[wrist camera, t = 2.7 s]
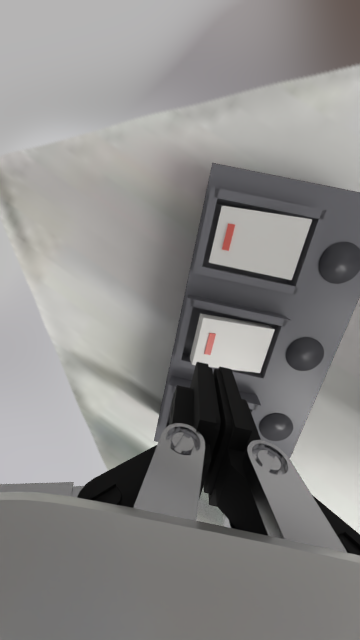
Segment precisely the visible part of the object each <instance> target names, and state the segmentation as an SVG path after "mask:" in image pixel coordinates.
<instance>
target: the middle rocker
mask: <svg viewBox="0 0 360 640" xmlns="http://www.w3.org/2000/svg"><path fill="white" fill-rule="evenodd" d="M274 330H275V329H273V328H272V327H270V326H269V325H267V324H261V323H255V322H249V321H243V320H237V319H231V318H225V317H219V316H213V315H207V314H201V313H200V316H199V320H198V325H197V329H196V333H195V337H194V342H193V346H192V350H191V354H190V360H191V363H192V365H196V362H201V363H206V364H208V366H209V367H214V368H219V367H224V368H229V369H232V370H239V371H247V372H255V373H260V372H261V369H262V366H263V363H264V360H265V357H266V354H267V351H268V348H269V345H270V342H271V339H272V336H273V333H274Z"/></svg>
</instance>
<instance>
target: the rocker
mask: <svg viewBox="0 0 360 640" xmlns="http://www.w3.org/2000/svg"><path fill="white" fill-rule="evenodd" d="M311 222H312V219H307V218H300V217H294V216H287V215H281V214H274V213H267V212H261V211H254V210H248V209H241V208H235V207H228V206H222V207H221V212H220V216H219V220H218V224H217V229H216V233H215V237H214V242H213V246H212V250H211V255H210V259H209V263H213V264H218V265H223V266H227V267H232V268H237V269H241V270H246V271H251V272H255V273H260V274H265V275H270V276H274V277H279V278H284V279H288V280H292V278H293V275H294V272H295V269H296V266H297V263H298V260H299V257H300V254H301V251H302V248H303V245H304V242H305V239H306V237H307V234H308V231H309V228H310V225H311Z"/></svg>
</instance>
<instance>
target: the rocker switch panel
mask: <svg viewBox="0 0 360 640" xmlns="http://www.w3.org/2000/svg"><path fill="white" fill-rule="evenodd" d="M222 206H228V207H235V208H241V209H248V210H254V211H261V212H267V213H274V214H281V215H287V216H294V217H300V218H307V219H312V222H311V225H310V228H309V231H308V234H307V237H306V239H305V242H304V245H303V248H302V251H301V254H300V257H299V260H298V263H297V266H296V269H295V272H294V275H293V278H292V280H288V279H284V278H279V277H274V276H270V275H265V274H260V273H255V272H251V271H246V270H241V269H237V268H232V267H227V266H223V265H218V264H213V263H209V259H210V255H211V250H212V246H213V242H214V237H215V233H216V229H217V224H218V220H219V216H220V212H221V207H222ZM359 298H360V192H355V191H350V190H345V189H340V188H335V187H330V186H325V185H320V184H315V183H310V182H305V181H300V180H295V179H290V178H285V177H280V176H275V175H270V174H265V173H260V172H255V171H250V170H245V169H240V168H235V167H231V166H226V165H221V164H216V163H212V168H211V172H210V177H209V182H208V187H207V191H206V196H205V201H204V206H203V210H202V215H201V220H200V225H199V229H198V234H197V239H196V244H195V248H194V253H193V258H192V263H191V267H190V272H189V277H188V282H187V286H186V291H185V296H184V301H183V305H182V310H181V315H180V320H179V324H178V329H177V334H176V339H175V343H174V348H173V353H172V358H171V362H170V367H169V372H168V377H167V381H166V386H165V391H164V395H163V400H162V405H161V410H160V414H159V419H158V424H157V429H156V433H155V438H154V441H157V442H159V440H160V437H161V434H162V432H163V431H164V429H165V428H166V427H167V426H169V419H170V413H171V408H172V403H173V398H174V394H175V390H176V386H177V385H179V386H184V387H188V388H190V386H191V382H192V378H193V374H194V370H195V366H196V365H192V363H191V360H190V354H191V350H192V346H193V342H194V337H195V333H196V329H197V325H198V320H199V316H200V313H201V314H207V315H213V316H219V317H225V318H231V319H237V320H243V321H249V322H255V323H261V324H267V325H269V326H270V327H272V328H273V329H275V330H274V333H273V336H272V339H271V342H270V345H269V348H268V351H267V354H266V357H265V360H264V363H263V366H262V369H261V372H260V373H255V372H247V371H239V370H232V372H233V375H234V378H235V381H236V384H237V387H238V390H239V393H240V396H241V399H245V400H246V401H247V403H248V406H249V408H250V411H251V414H252V417H253V419H254V422H255V425H256V428H257V430H258V433H259V436H260V438H261V440H263V441H267V442H269V443H272V444H274V445H275V446H277V447H278V448H280V449H281V450H282V451H283V452H284V453H285V454H286V455H287V456H288V458H289V459H290V457H291V454H292V452H293V450H294V447H295V445H296V443H297V441H298V438H299V436H300V434H301V431H302V429H303V427H304V424H305V422H306V420H307V417H308V415H309V413H310V411H311V408H312V406H313V404H314V401H315V399H316V397H317V394H318V392H319V390H320V388H321V385H322V383H323V381H324V378H325V376H326V374H327V371H328V369H329V367H330V364H331V362H332V360H333V358H334V355H335V353H336V351H337V348H338V346H339V344H340V341H341V339H342V337H343V334H344V332H345V330H346V328H347V325H348V323H349V321H350V318H351V316H352V314H353V311H354V309H355V307H356V304H357V302H358V300H359ZM210 368H212V371H213V372H214V369H219V368H214V367H210Z"/></svg>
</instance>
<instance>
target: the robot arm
mask: <svg viewBox="0 0 360 640" xmlns="http://www.w3.org/2000/svg"><path fill="white" fill-rule="evenodd" d="M203 486H204V492H205V493H208V494H209V505H212V506H217V507H218V508H219V509H220V510H221V511H222V512H223V517H222V522H223V526H219V525H214V524H209V523H204V522H199V521H196V519H197V511H198V503H199V498H200V495H201V492H202V488H203ZM0 640H360V534H358V533H357V532H356V531H355V530H354V529H352V528H351V527H350V526H349V525H348V524H346V523H345V522H344V521H343V520H341V519H340V518H339V517H338V516H337V515H335V514H334V513H333V512H332V511H331V510H329V509H328V508H327V507H326V506H325V505H323V504H322V503H321V502H320V501H319V500H317V499H316V498H315V497H314V496H313V495H312V494H311V493H310V491H309V490H308V488H307V486H306V485H305V483H304V481H303V480H302V478H301V477H300V475H299V473H298V472H297V470H296V469H295V467H294V465H293V464H292V462H291V460H290V459H289V458H288V456H287V455H286V454H285V453H284V452H283V451H282V450H281V449H280V448H278V447H277V446H275V445H274V444H272V443H269V442H267V441H263V440H261V438H260V436H259V433H258V430H257V428H256V425H255V422H254V419H253V417H252V414H251V411H250V408H249V406H248V403H247V401H246V400H245V399H241V396H240V393H239V390H238V387H237V384H236V381H235V378H234V375H233V372H232V369H229V368H224V367H219V369H214V372H213V371H212V368H210V367H209V366H208V364H206V363H201V362H196V366H195V370H194V374H193V378H192V382H191V386H190V388H188V387H184V386H179V385H177V386H176V390H175V394H174V398H173V403H172V408H171V413H170V419H169V426H167V427H166V428H165V429H164V431H163V432H162V434H161V437H160V440H159V442H158V445H156V446H154V447H152V448H150V449H148V450H147V451H145V452H143V453H141V454H139V455H137V456H135V457H133V458H132V459H130V460H128V461H126V462H124V463H122V464H120V465H118V466H117V467H115V468H113V469H111V470H109V471H107V472H105V473H103V474H101V475H100V476H98V477H96V478H94V479H93V480H91V481H90V482H88V483H87V484H86V485H85V486H76V487H73V482H66V483H65V482H64V483H30V484H1V485H0Z"/></svg>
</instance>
